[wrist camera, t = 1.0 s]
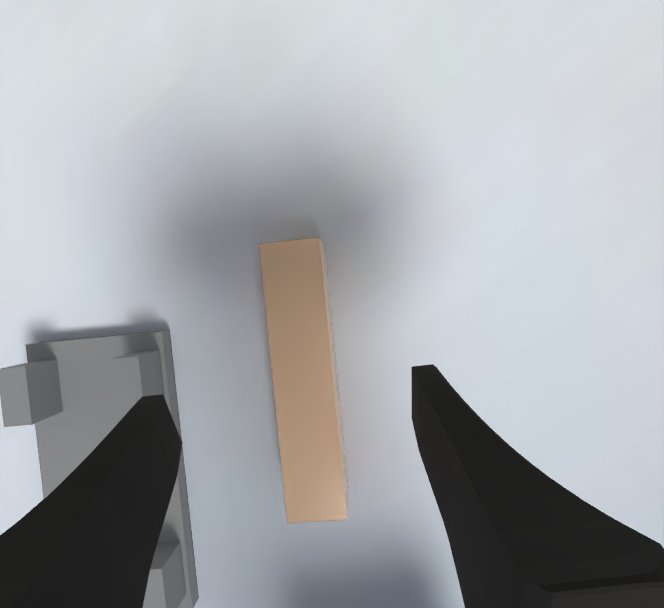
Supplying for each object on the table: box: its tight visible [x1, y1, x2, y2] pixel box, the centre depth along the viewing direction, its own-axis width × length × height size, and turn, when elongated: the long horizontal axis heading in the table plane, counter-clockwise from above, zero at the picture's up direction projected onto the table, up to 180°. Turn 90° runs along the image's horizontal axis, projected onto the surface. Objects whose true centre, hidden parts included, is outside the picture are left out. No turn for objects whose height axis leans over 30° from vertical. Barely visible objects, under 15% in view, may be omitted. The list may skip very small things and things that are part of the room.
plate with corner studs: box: [0, 330, 198, 608], centre depth 25 cm, size 16×8×4 cm, turn 6°
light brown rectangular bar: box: [259, 238, 348, 524], centre depth 24 cm, size 14×3×4 cm, turn 6°
